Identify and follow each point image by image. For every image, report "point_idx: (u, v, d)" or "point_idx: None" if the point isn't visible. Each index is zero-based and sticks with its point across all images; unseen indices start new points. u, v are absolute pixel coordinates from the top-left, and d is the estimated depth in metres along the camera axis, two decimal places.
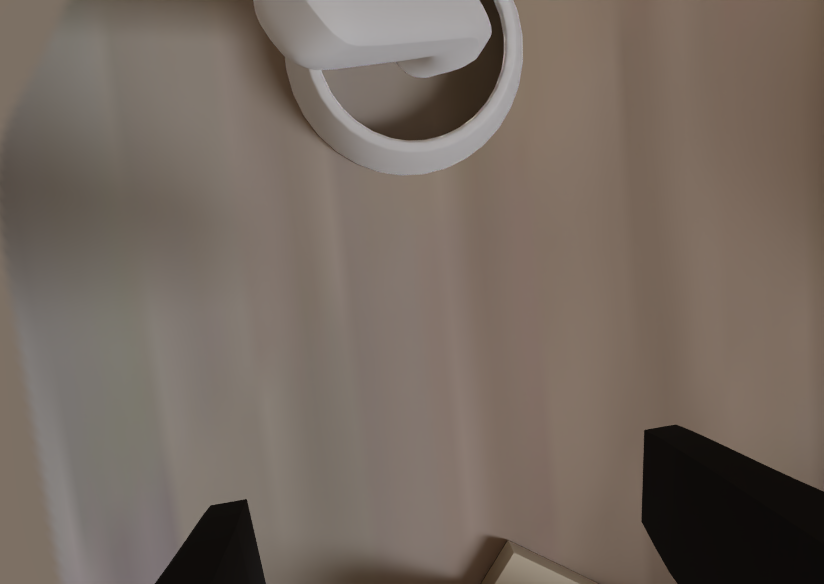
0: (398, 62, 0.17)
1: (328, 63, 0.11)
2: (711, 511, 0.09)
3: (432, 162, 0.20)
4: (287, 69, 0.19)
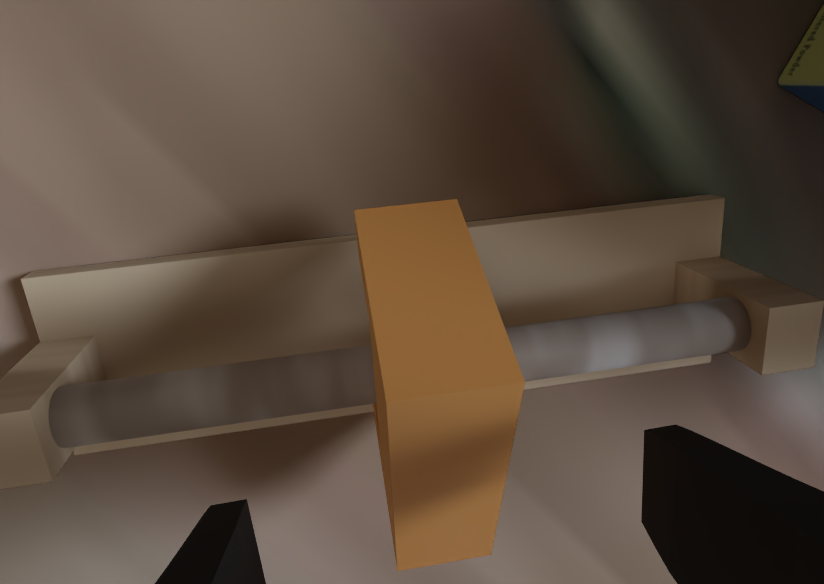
0: None
1: None
2: (711, 510, 0.09)
3: None
4: None
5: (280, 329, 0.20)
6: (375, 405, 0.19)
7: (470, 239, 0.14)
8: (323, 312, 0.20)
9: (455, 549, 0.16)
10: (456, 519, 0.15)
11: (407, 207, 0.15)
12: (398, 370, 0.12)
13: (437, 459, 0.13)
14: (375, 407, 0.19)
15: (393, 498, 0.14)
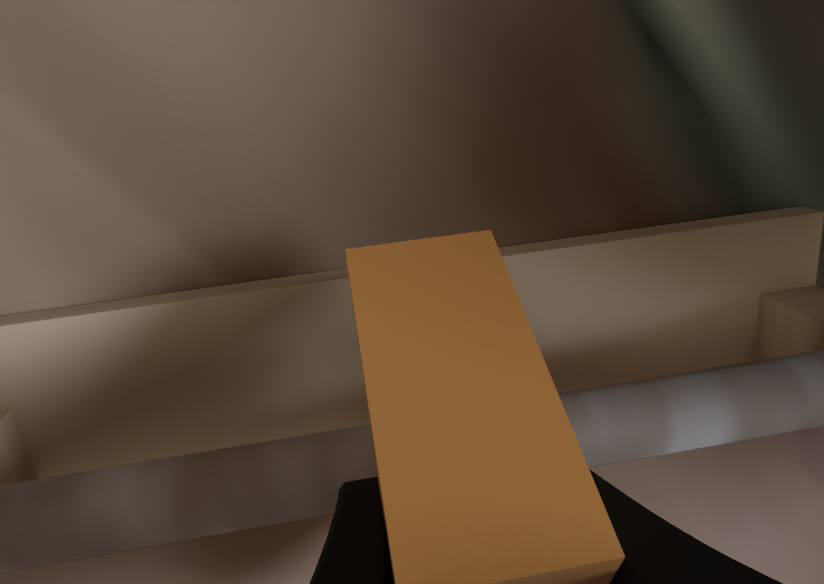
0: None
1: None
2: None
3: None
4: None
5: (255, 392, 0.15)
6: None
7: (515, 294, 0.10)
8: (310, 370, 0.15)
9: None
10: None
11: (421, 243, 0.11)
12: (416, 535, 0.07)
13: None
14: None
15: None
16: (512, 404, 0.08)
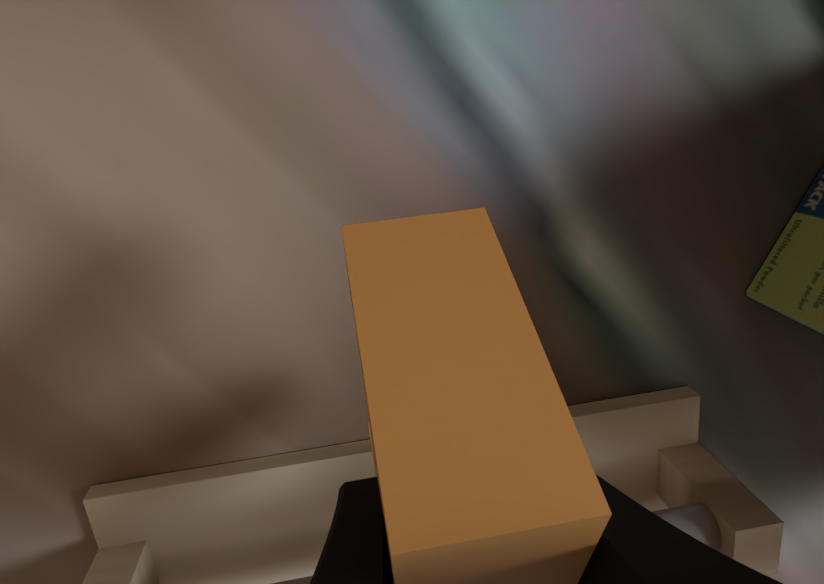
0: None
1: None
2: None
3: None
4: None
5: (307, 525, 0.22)
6: (376, 470, 0.15)
7: (507, 268, 0.10)
8: None
9: None
10: None
11: (416, 220, 0.11)
12: (409, 493, 0.07)
13: None
14: (376, 473, 0.15)
15: None
16: (504, 371, 0.09)
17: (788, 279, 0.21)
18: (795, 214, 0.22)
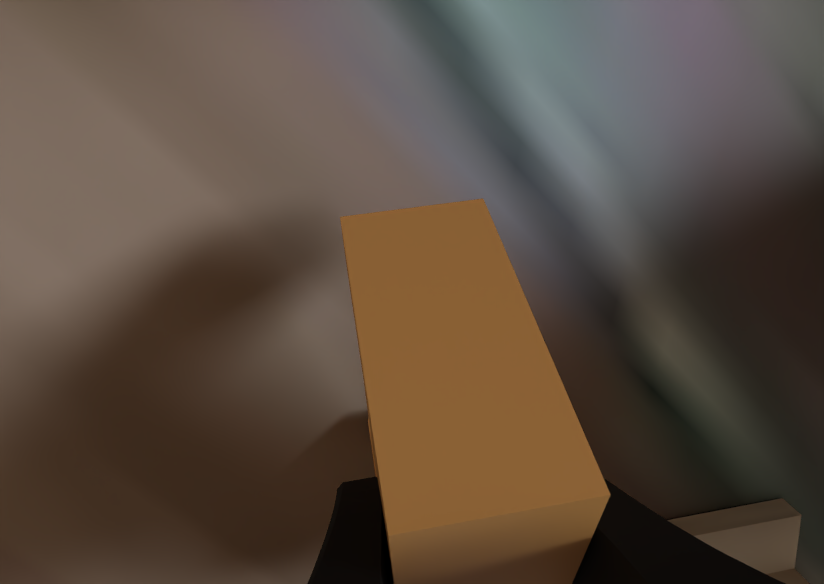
0: None
1: None
2: None
3: None
4: None
5: None
6: None
7: (506, 257, 0.10)
8: None
9: None
10: None
11: (415, 211, 0.11)
12: (406, 475, 0.07)
13: None
14: (376, 469, 0.14)
15: None
16: (502, 357, 0.09)
17: None
18: None
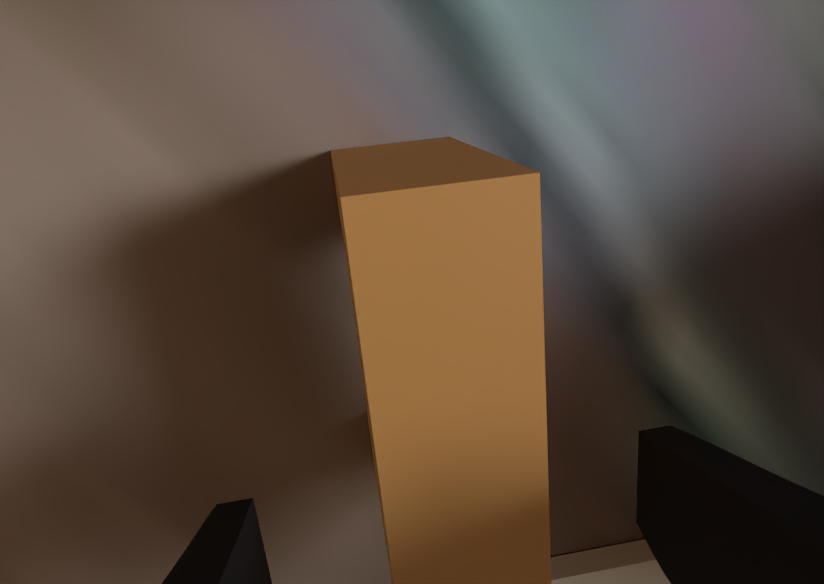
0: None
1: None
2: (704, 512, 0.09)
3: None
4: None
5: None
6: (372, 441, 0.14)
7: (464, 143, 0.12)
8: None
9: None
10: (482, 518, 0.10)
11: (393, 147, 0.13)
12: (362, 185, 0.08)
13: (434, 349, 0.09)
14: None
15: (376, 448, 0.09)
16: (454, 159, 0.10)
17: None
18: None
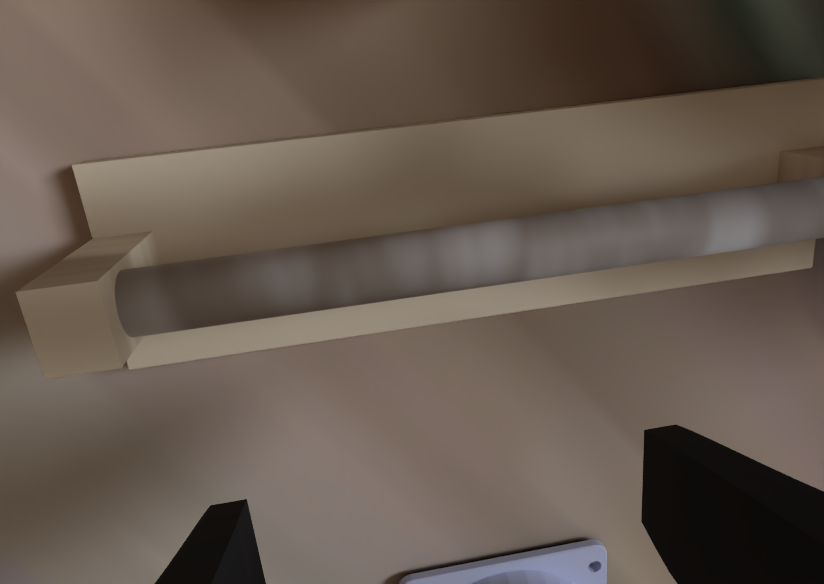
0: None
1: None
2: (710, 510, 0.09)
3: None
4: None
5: (352, 226, 0.18)
6: None
7: None
8: (399, 207, 0.18)
9: None
10: None
11: None
12: None
13: None
14: None
15: None
16: None
17: None
18: None
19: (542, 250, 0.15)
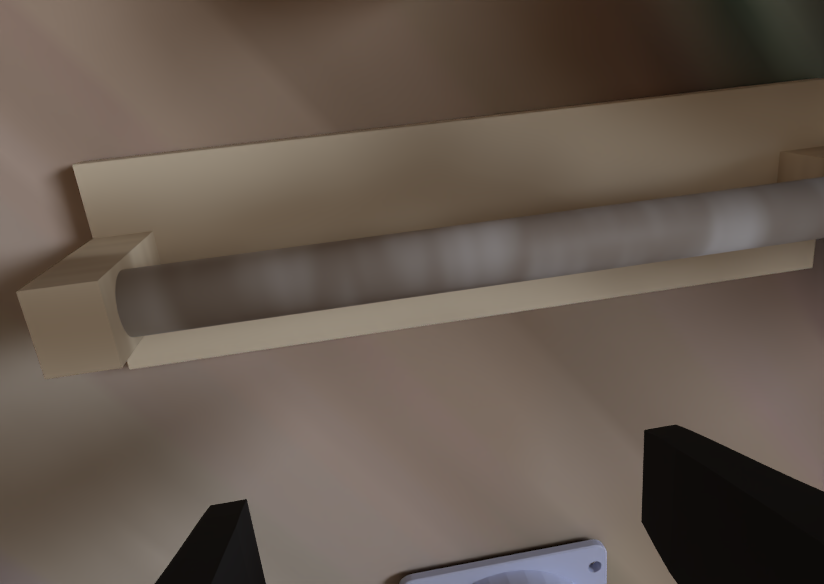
0: None
1: None
2: (711, 511, 0.09)
3: None
4: None
5: (353, 226, 0.18)
6: None
7: None
8: (399, 207, 0.18)
9: None
10: None
11: None
12: None
13: None
14: None
15: None
16: None
17: None
18: None
19: (542, 250, 0.15)
